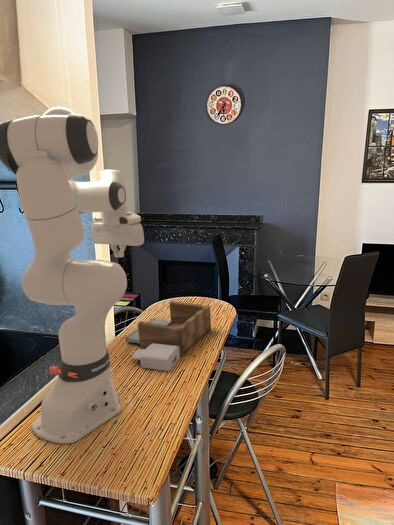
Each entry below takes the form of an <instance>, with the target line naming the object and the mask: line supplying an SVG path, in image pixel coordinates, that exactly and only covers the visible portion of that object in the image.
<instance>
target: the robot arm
mask: <svg viewBox="0 0 394 525" xmlns="http://www.w3.org/2000/svg"><path fill="white" fill-rule="evenodd" d="M98 151H99V135H98V133H97V130H96V127H95V125H94V123H93V122H92V120H91V119H89V118H88V117H87V116H86V115H83V114H79V113H75V112H73V111H72V110H71V109H69V108H66V107H63V106H62V107H61V106H57V107H56V106H55V107H52V108H49V109H48V110H46V111H45V112H44V113H43V114H39V115H31V116H26V117H22V118H18V119H14V118H13V119H9V120H5V121H3V122H0V161H1V163H2V164H3V165H4V166H5V167H6V168H7V169H8V170H10V171H11V173H13V174H14V176H15V177H16V178H15V179H16V184H17V192H18V196H19V200H20V201H19V202H20V203H21V204H20V205H21V208H22V210H23V215H24V217H25V219H26V222H27V226H28V228H29V232H30V235H31V238H32V241H33V244H34V245H33V246H34V255H33V256H34V257H33V260H32V262H31V263H30V264H29V265H28V266H27V267H26V269H25V271H24V273H23V275H22V279H21V287H22V291H23V293H24V294H25V297H27V299H28V300H29V301H33V302H36V303H40V304H45V305H54V306H56V305H57V306H58V305H59V306H60V305H61V306H74V309H75V315H73V316H72V317H70V318H68V319H66V320H65V321H64V322H63V323H62V324H61V326H60V328H59V330H58V334H57V335H58V342H59V347H60V348H59V349H60V355H61V358H60V362H59V366H55V365H52V366H50V368H49V371H48V372H49V374H50V375H54V376H58V377H57V378H56V379H55V381H54V383H53V384H52V386H51V387H50V389H49V391H48V393H46V394H45V395H46V396H45V397H44V398H43V400H42V402H41V405H40V416H39V417H38V418H37V419H36V420H35V421H34V422H33V423H32V425H31V429H32V432H33V434H34V435H36V436H37V437H38V438H41V439H43V440H45V441H48V442H50V443H51V442H52V443H55V444H56V443H57V444H65V445H66V444H73V443H76V442H79V440H81V439H82V438H84V437H85V436H86V435H88V434H90V433H91V432H93V431H94V430H96V429H97V428H99V427H100V426H101V425H103V424H104V423H106V422H107V421H109V420H111V419H112V418H113V417H115V416H116V415H117V414H119V413H120V412H122V406H121V403H120V396H119V393H118V392H117V389H116V387H115V383H114V379H113V376H112V373H111V372H112V371H111V369H110V366H111V358H110V357H111V356H110V353H109V349H107V342H106V320H107V317H108V314H109V312H110V311H111V309H112V308H113V307H114V306H115V305H116V304H117V303H119V301H120V300H121V299H122V298H123V297H124V295H125V293H126V290H127V287H128V279H127V274H126V272H125V270H124V268H123V267H122V266H121V264H119V263H117V262H113V261H109V260H104V259H73V258H72V256H71V252H73V251H74V250H75V249H76V248H78V247H79V246H80V245H81V243H83V240H84V237H85V228H84V224H83V220H82V217H81V215H80V214H85V213H86V214H87V213H101V217H99V216H98V217H94V218H93V219H92V221H91V225H92V226H91V239H92V242H93V243H94V245H97V244H98V245H110V248H111V251H112V252H113V254H114V257H115V258H124V257H125V253H124V252H125V250H126V248H127V246H132V247H133V246H134V247H138V246H142V245H143V244H144V242H145V234H144V228H143V225H142V224H141V223H140V222H142V217H141V216H140V215H139V214H136V213H134V212H132V211H129V210H128V206H127V203H126V200H127V193H126V192H127V191H126V184H125V180H124V179H125V178H124V177H123V172H122V170H119V169H114V168H113V169H112V168H107V169H106V168H104V169H101V170H99V171H98V180H97V181H75V180H74V178H79V177H80V178H81V177H84V176H86V175H87V174H89V173H90V172H91V171H92V170H93V169H94V167H95V166H96V164H97V161H98V158H99V152H98ZM94 220H95V221H94Z"/></svg>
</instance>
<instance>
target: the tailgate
mask: <svg viewBox="0 0 394 525" xmlns="http://www.w3.org/2000/svg"><path fill="white" fill-rule="evenodd" d="M147 322H148V323H154V324H160V325H166V326H171V325H172V321H171V320H165V319H162V318H161V319H160V318H155V317H153V318H152V319H150V320H149V321H147ZM124 339H125V341H126V342H129V343H136V344H139V345H140V341H139V331H138V328H137V329H136V330H133V332H131V333H129V334H128V335H127V336H125V337H124Z"/></svg>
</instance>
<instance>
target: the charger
mask: <svg viewBox="0 0 394 525" xmlns="http://www.w3.org/2000/svg"><path fill="white" fill-rule="evenodd" d="M131 352H132V353H130V352H129V354H128V355H129V356H132V359H133V360H139V362H140V366H141V368H143V369H150V370H156V371H164V372H170V371H171V370H172V369H173V367H174V366H175V365H176V363H177V362H179V360H180V358H181V357H180V350H179V346H173V345H164V344H155V343H153V344H151V345H149V346H148V347H147V348H146V349H140V348H137V350H132V351H131Z"/></svg>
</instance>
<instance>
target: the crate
mask: <svg viewBox="0 0 394 525" xmlns="http://www.w3.org/2000/svg"><path fill="white" fill-rule="evenodd" d="M169 312H170V313H169V314H170V321H172V325H170V326H166V325H160V324H154V323H148V322H149V321H147V322H146V321H139V322H137V329H138V331H139V341H140V344H139V349H146V348H147V347H148V346H149V345H151V344H153V343H155V344H164V345H173V346H179V350H180V358H184V357H185V355H186V354H187V353H189V351H191V350H192V349H193V348H194V347H195V346H196V345H197V344H199V342H200V341H202V339H204V338H205V337H206V336H207V335H208V334H209V333H210V332H211V331H212V323H211V320H212V319H211V306H210V305H205V304H197V303H190V302H189V303H188V302H183V301H175V300H171V301H170V302H169Z"/></svg>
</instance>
